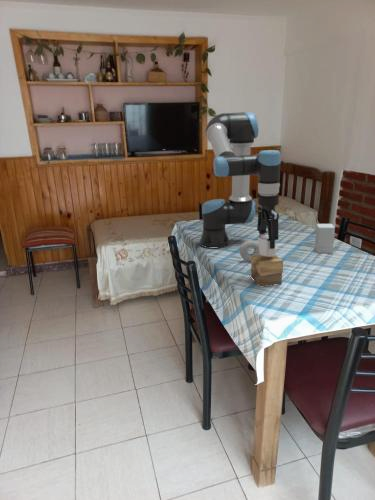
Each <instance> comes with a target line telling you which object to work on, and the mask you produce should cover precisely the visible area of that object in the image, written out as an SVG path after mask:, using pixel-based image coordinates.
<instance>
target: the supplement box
mask: <svg viewBox="0 0 375 500" xmlns="http://www.w3.org/2000/svg"><path fill="white" fill-rule="evenodd" d="M315 227H316V228H315V239H314V250H315V252H316V253H318V254H333V251H334V244H335V241H334V240H335V230H336V227H335V226H334V224H333V223H316V226H315Z"/></svg>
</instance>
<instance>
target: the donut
mask: <svg viewBox="0 0 375 500" xmlns="http://www.w3.org/2000/svg"><path fill="white" fill-rule="evenodd" d="M251 248H252V249H253V252H252V253H251V254H250V253H248V250H249V249H251ZM239 255H240V257H241V259H243V260H244V261H245V262H251V256H255V255H260V254H259V241H256V240H250V239H249V240H246V241H245V242H243V243H242V244H241V246H240V248H239Z"/></svg>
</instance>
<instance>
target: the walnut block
mask: <svg viewBox="0 0 375 500" xmlns="http://www.w3.org/2000/svg"><path fill="white" fill-rule="evenodd" d="M251 277H252V278H253V279H254V280H255V282H256V283H257V284H258V285H259V286H265V287H267V286H266V285H272V286H275V285H274V284H279V285H282V281H283V279H282V278H283V273H277V274H271V275H264V276H261V275H260V274H258V273H257V272H256V271H255V270H253V269H252V268H251V267H250V278H251ZM255 282H254V283H255ZM256 283H255V284H256ZM257 284H256V285H257ZM258 285H257V286H258ZM259 286H258V287H259Z"/></svg>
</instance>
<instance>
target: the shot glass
mask: <svg viewBox="0 0 375 500" xmlns="http://www.w3.org/2000/svg"><path fill="white" fill-rule="evenodd" d="M257 239H258V241H257V242H258V243H259V254H260V255H262V256H267V242H268V241H267V239H269V236H268V233H265V234H262V235H260V234H259V235H258V236H257ZM276 244H277V240H275V245H276Z"/></svg>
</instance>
